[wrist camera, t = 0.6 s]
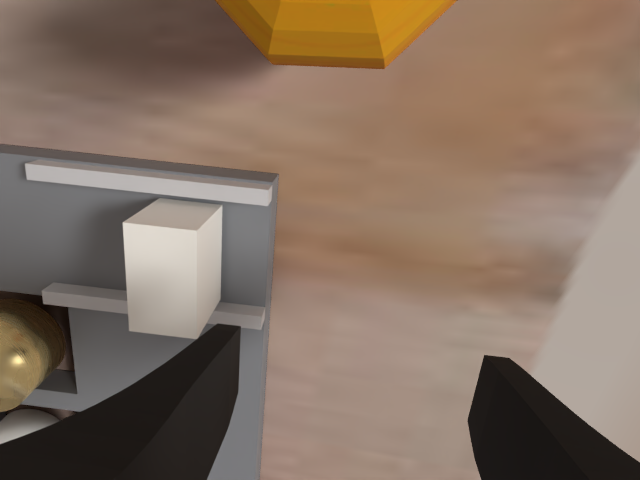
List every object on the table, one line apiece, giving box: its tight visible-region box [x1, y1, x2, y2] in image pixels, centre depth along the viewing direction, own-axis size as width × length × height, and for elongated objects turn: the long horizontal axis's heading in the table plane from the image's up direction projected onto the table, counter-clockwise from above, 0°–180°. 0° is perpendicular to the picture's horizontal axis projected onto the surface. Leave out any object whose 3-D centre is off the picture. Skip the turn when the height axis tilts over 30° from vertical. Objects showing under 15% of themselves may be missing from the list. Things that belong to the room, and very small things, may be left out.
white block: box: [123, 198, 222, 339], centre depth 17 cm, size 4×2×3 cm, turn 175°
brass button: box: [0, 299, 66, 412], centre depth 20 cm, size 4×4×2 cm
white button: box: [0, 409, 61, 444], centre depth 22 cm, size 4×4×2 cm
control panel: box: [0, 144, 279, 480], centre depth 21 cm, size 19×16×2 cm
